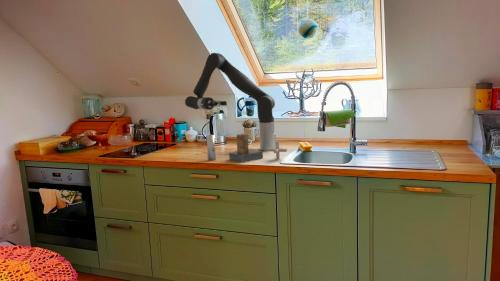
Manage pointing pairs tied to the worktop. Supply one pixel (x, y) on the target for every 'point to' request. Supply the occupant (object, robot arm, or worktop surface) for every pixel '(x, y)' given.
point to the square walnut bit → (242, 143)
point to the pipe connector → (277, 150)
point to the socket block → (246, 155)
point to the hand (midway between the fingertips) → (220, 104)
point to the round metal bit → (211, 147)
